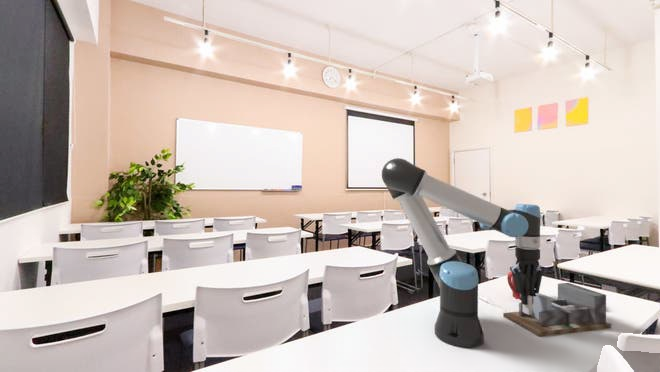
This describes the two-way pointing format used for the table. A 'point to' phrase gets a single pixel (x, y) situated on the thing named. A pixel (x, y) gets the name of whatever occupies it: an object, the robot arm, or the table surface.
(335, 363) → the table surface
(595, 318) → the grey block structure
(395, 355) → the table surface
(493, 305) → the stylus pen
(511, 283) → the mug
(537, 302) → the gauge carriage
